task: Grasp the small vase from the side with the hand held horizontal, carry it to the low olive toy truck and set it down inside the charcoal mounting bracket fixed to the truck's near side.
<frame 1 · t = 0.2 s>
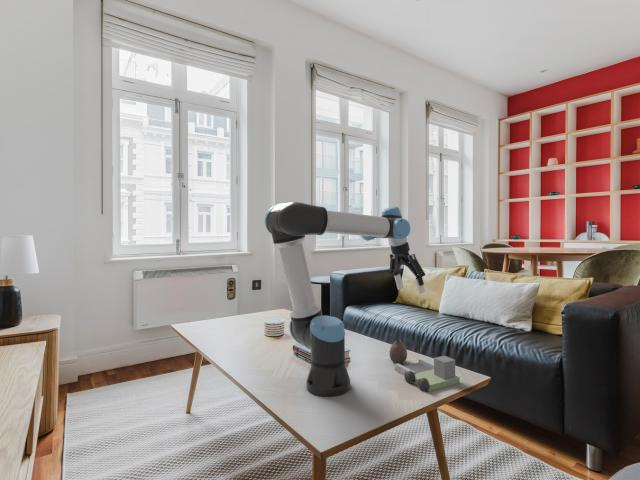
hand: (411, 290, 166), 27 cm above the table, tool tilted 15°, fingers open, 13 cm apart
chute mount: (417, 371, 145), on the table
vase: (398, 362, 156), on the table
toy truck: (432, 371, 135), on the table
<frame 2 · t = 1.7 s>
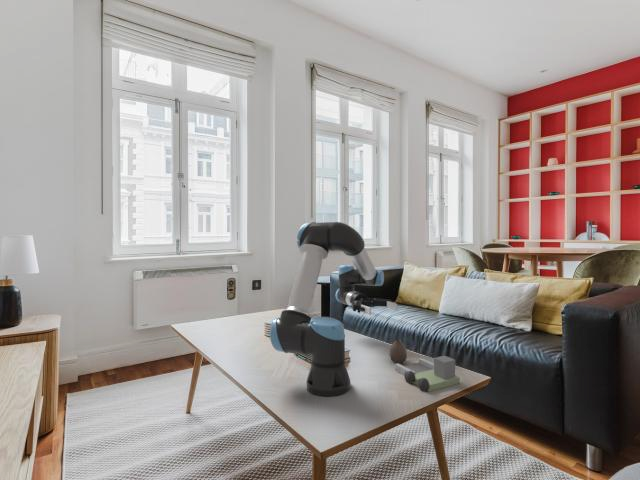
hand: (383, 309, 163), 20 cm above the table, tool horizontal, fingers open, 13 cm apart
nothing on the table moved.
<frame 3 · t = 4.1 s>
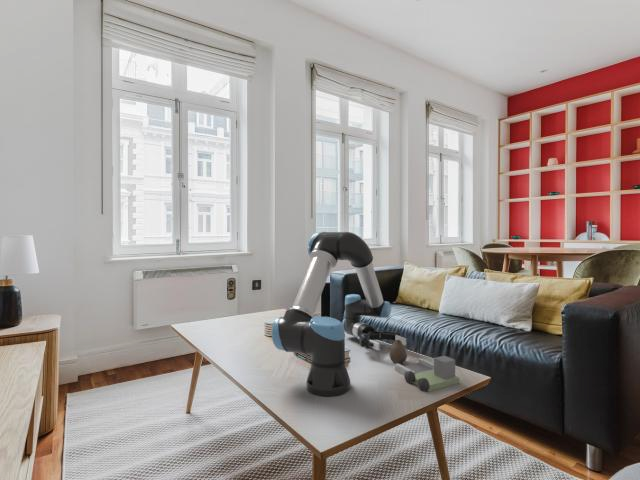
hand: (392, 344, 160), 6 cm above the table, tool horizontal, fingers open, 13 cm apart
nothing on the table moved.
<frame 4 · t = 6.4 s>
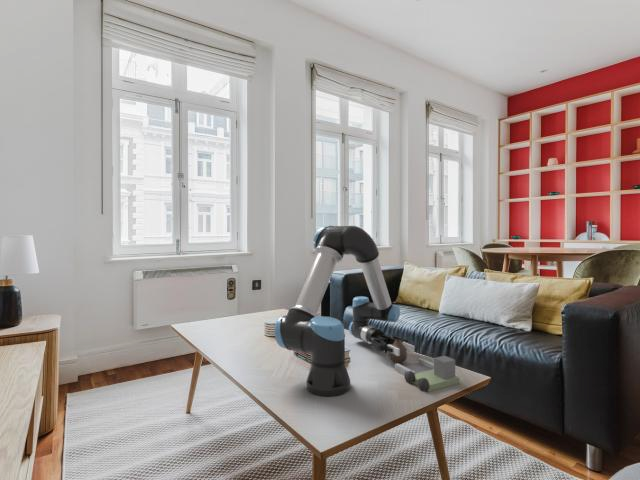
hand: (406, 351, 151), 6 cm above the table, tool horizontal, fingers closed on vase, 6 cm apart
vase: (398, 362, 156), on the table, touching gripper
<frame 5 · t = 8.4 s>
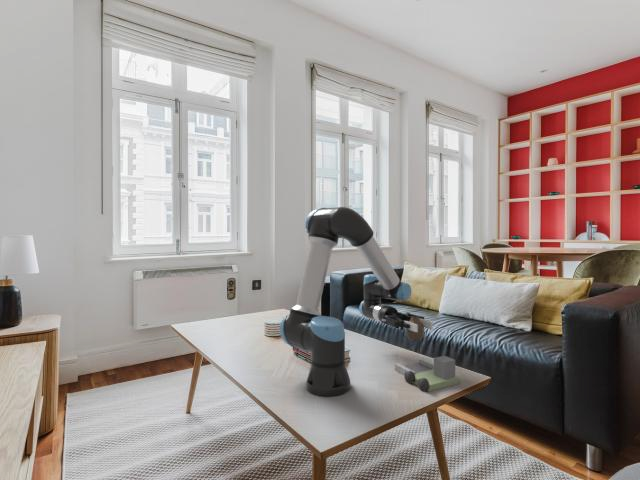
hand: (424, 327, 142), 18 cm above the table, tool horizontal, fingers closed on vase, 6 cm apart
vase: (415, 340, 146), point 11 cm above the table, touching gripper
when the fingers open (8 cm above the table, at t = 10.6 s): vase drops 1 cm, resting on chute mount.
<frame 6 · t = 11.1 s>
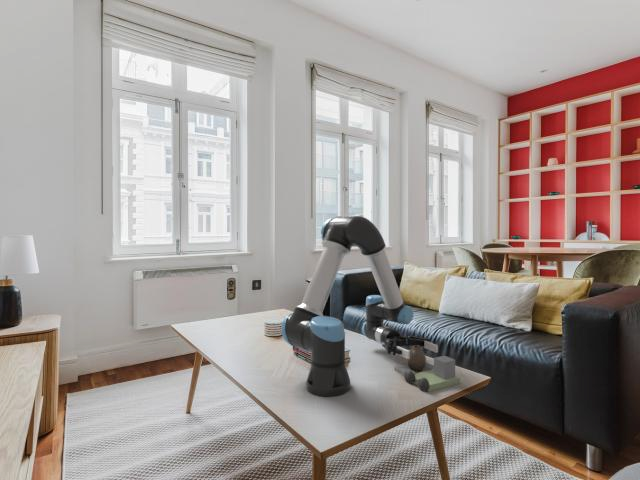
hand: (423, 352, 142), 8 cm above the table, tool horizontal, fingers open, 13 cm apart
vase: (416, 369, 145), point 1 cm above the table, touching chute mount
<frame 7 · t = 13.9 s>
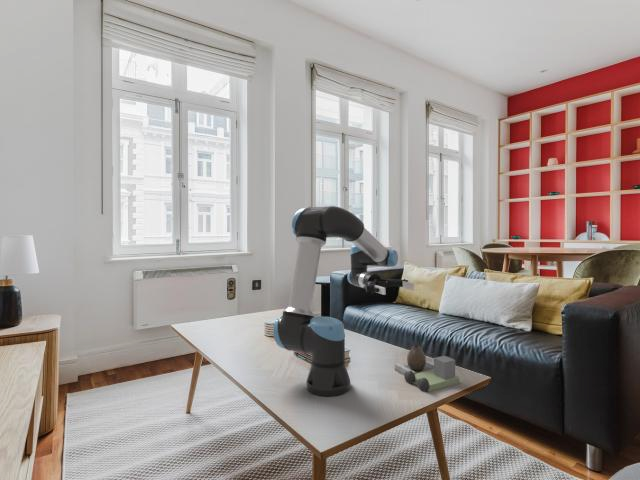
hand: (399, 289, 152), 30 cm above the table, tool horizontal, fingers open, 13 cm apart
nothing on the table moved.
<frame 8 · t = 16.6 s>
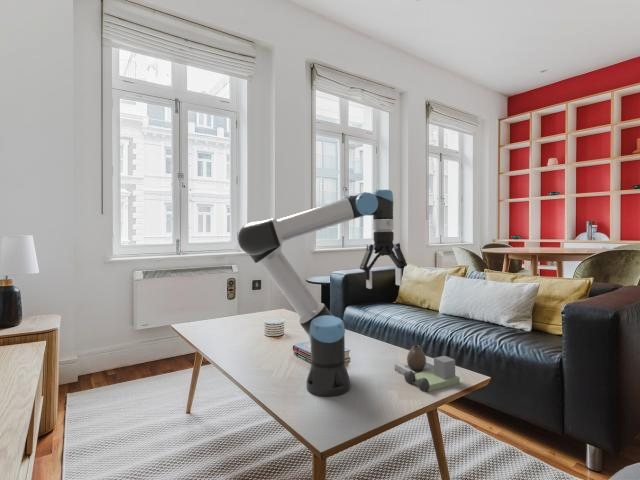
hand: (384, 286, 148), 32 cm above the table, tool pointing down, fingers open, 13 cm apart
nothing on the table moved.
at the end: vase inside the target area on the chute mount (0.2 cm from its centre), point 0.8 cm above the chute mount's base; vase tilted 0°; the gripper is holding nothing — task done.
